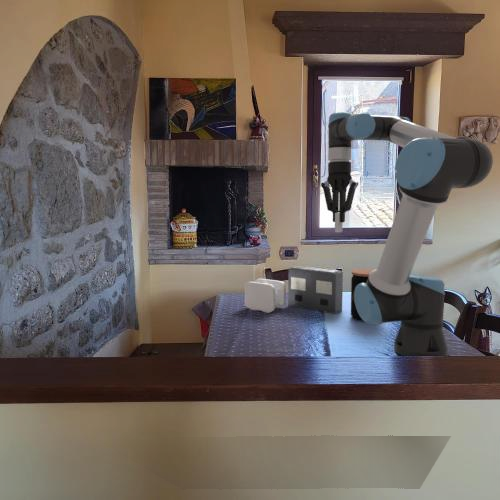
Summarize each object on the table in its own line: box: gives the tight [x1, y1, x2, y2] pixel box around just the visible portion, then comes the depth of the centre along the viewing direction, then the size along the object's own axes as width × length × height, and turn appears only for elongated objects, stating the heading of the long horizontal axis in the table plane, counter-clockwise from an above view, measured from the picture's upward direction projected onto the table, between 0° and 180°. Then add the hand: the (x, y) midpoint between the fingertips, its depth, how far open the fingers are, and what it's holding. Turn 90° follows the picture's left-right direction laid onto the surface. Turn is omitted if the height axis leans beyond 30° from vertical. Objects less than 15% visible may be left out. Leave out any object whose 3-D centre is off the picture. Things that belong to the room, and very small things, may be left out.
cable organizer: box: [244, 278, 287, 314], centre depth 184 cm, size 15×11×12 cm
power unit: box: [287, 265, 344, 314], centre depth 184 cm, size 6×22×16 cm, turn 52°
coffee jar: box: [350, 268, 374, 323], centre depth 169 cm, size 11×11×18 cm
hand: (338, 231), depth 152 cm, fingers closed
